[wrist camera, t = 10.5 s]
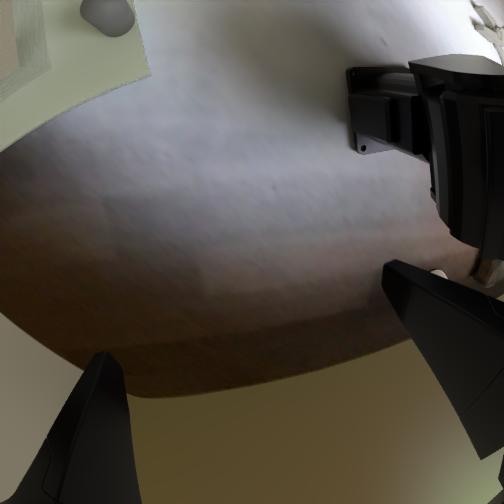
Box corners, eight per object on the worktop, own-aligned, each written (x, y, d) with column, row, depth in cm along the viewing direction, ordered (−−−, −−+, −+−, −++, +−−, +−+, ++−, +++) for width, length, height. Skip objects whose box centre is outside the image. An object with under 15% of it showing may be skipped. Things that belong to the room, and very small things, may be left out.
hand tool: (481, 270, 34) (499, 287, 30) (468, 276, 33) (488, 294, 30) (511, 156, 24) (536, 169, 20) (500, 155, 23) (528, 169, 19)
